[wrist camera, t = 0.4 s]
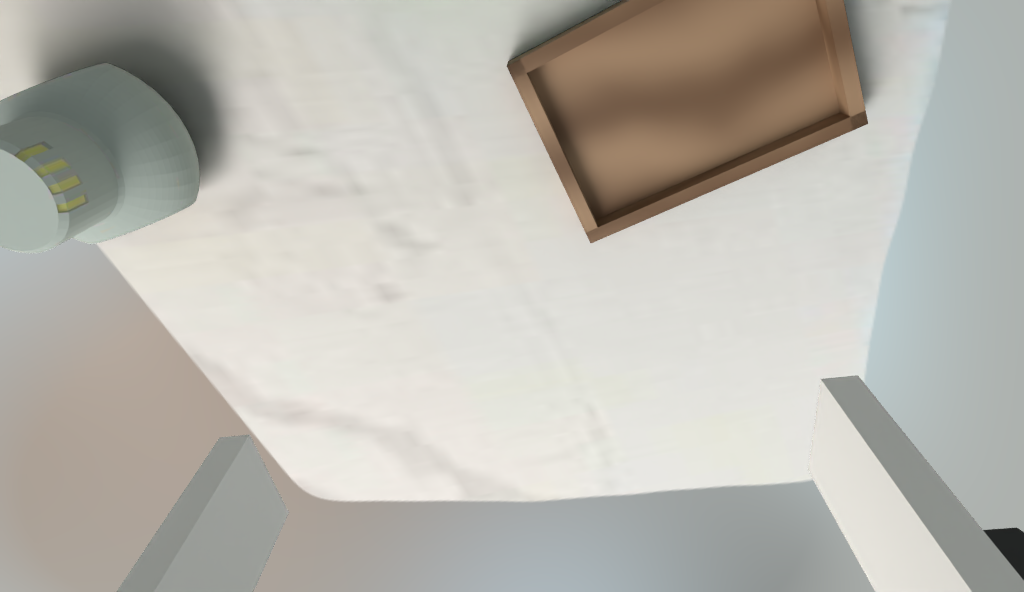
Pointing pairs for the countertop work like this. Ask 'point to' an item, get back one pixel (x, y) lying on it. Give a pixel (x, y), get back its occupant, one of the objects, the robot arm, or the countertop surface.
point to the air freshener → (90, 160)
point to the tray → (686, 98)
